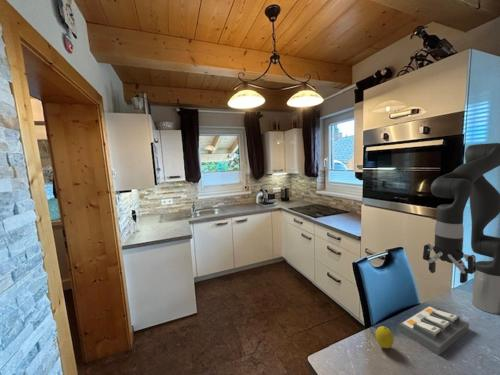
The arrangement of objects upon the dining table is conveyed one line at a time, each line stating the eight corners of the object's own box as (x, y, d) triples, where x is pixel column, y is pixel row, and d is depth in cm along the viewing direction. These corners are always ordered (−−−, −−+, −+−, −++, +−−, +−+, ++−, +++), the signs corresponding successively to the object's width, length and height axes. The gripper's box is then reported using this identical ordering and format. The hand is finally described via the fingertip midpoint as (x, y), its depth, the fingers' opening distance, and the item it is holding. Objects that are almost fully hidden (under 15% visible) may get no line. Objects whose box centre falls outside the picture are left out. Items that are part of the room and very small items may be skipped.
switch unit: (429, 311, 98) (430, 300, 97) (468, 330, 86) (469, 318, 86) (398, 330, 87) (399, 319, 87) (438, 355, 75) (439, 341, 75)
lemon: (395, 355, 76) (396, 333, 75) (378, 352, 77) (379, 331, 76) (389, 342, 81) (389, 322, 81) (373, 340, 83) (373, 320, 82)
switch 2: (439, 312, 92) (438, 310, 92) (457, 318, 87) (456, 315, 87) (435, 315, 90) (434, 312, 90) (453, 321, 85) (452, 318, 85)
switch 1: (421, 324, 86) (421, 321, 86) (440, 331, 80) (439, 328, 80) (416, 327, 84) (416, 324, 84) (435, 334, 79) (434, 331, 79)
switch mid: (430, 318, 89) (430, 315, 89) (449, 324, 83) (448, 321, 84) (426, 321, 87) (425, 318, 87) (444, 327, 82) (444, 324, 82)
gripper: (480, 237, 73) (478, 283, 75) (430, 227, 86) (428, 266, 87) (471, 241, 70) (468, 289, 71) (420, 231, 82) (418, 271, 84)
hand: (446, 277), depth 79 cm, fingers open, 8 cm apart
